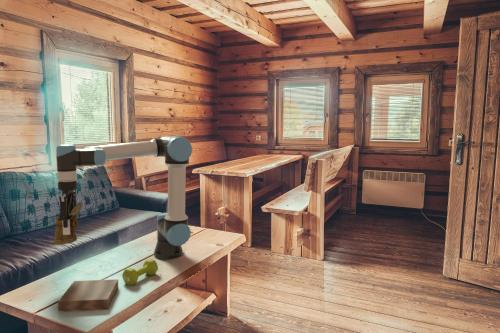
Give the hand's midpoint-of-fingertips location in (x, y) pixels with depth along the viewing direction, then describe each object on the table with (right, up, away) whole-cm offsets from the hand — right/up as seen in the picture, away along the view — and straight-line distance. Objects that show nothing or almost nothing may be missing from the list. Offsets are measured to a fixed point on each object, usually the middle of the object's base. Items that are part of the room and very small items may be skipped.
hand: (69, 231), depth 164 cm
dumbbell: (+29, -23, +7) cm, 38 cm away
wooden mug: (0, -4, 0) cm, 4 cm away
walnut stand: (+15, -25, -13) cm, 32 cm away
